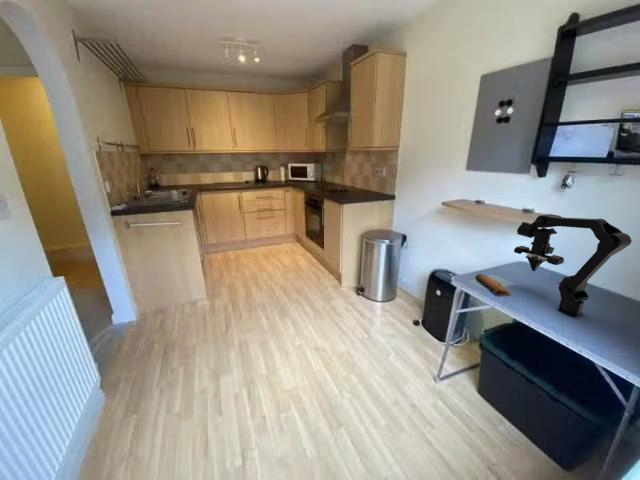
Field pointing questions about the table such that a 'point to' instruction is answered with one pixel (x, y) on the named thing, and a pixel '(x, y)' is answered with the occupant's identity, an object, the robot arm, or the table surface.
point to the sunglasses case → (493, 285)
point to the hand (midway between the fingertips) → (533, 271)
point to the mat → (500, 280)
